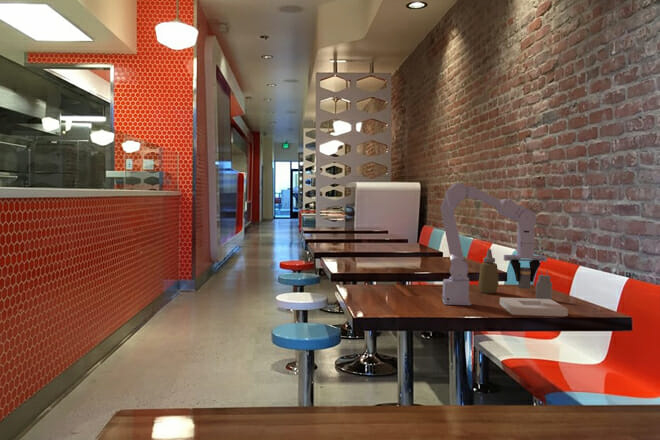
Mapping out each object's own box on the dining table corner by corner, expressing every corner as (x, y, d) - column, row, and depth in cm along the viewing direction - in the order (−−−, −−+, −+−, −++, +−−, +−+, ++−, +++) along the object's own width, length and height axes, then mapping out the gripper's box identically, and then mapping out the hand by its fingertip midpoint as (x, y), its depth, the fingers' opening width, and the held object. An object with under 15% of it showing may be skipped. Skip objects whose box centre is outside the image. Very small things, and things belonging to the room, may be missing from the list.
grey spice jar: (519, 288, 189) (520, 268, 188) (516, 286, 193) (517, 267, 192) (532, 288, 188) (532, 268, 188) (528, 286, 192) (529, 267, 192)
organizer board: (511, 314, 179) (512, 307, 179) (499, 304, 197) (499, 297, 196) (567, 316, 177) (567, 309, 177) (550, 305, 195) (550, 299, 195)
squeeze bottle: (500, 292, 223) (502, 249, 222) (495, 295, 216) (496, 250, 215) (481, 290, 227) (482, 248, 226) (475, 292, 220) (476, 249, 219)
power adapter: (536, 299, 209) (537, 268, 208) (551, 300, 206) (552, 269, 205) (535, 300, 206) (536, 269, 206) (550, 301, 203) (551, 270, 203)
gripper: (543, 242, 193) (541, 280, 194) (501, 241, 194) (501, 279, 195) (549, 244, 186) (548, 283, 187) (506, 243, 187) (505, 282, 188)
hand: (524, 281), depth 190 cm, fingers closed on grey spice jar, 4 cm apart
